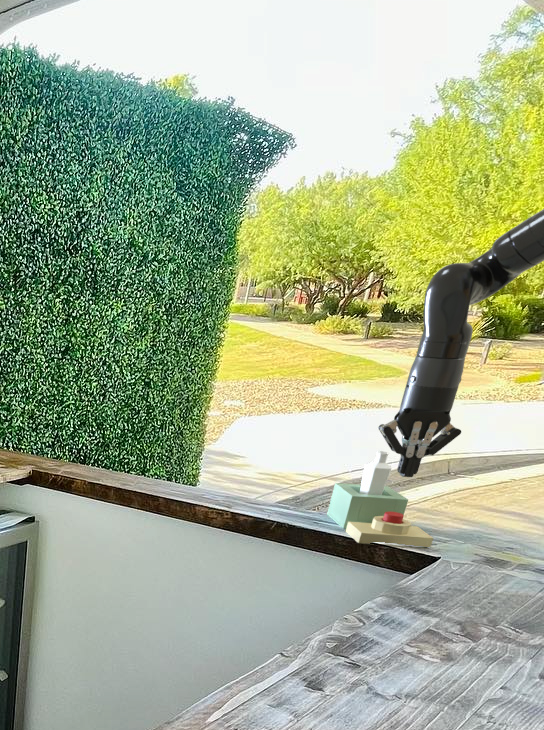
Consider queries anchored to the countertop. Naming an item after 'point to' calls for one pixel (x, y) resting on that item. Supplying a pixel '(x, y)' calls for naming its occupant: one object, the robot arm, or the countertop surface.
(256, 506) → the countertop surface
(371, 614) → the countertop surface
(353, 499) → the bottle holder
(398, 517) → the release button
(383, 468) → the perfume bottle
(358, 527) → the control box
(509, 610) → the countertop surface
